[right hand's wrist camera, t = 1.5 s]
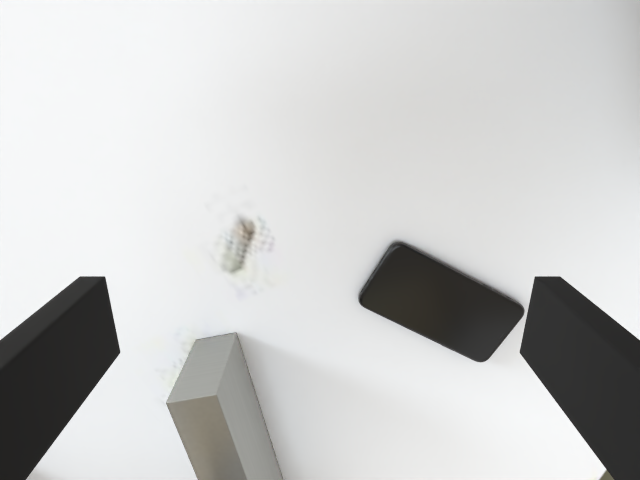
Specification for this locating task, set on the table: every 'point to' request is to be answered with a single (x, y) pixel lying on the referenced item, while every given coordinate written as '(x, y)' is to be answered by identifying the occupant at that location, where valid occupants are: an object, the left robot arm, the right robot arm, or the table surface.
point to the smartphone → (440, 302)
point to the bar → (221, 414)
